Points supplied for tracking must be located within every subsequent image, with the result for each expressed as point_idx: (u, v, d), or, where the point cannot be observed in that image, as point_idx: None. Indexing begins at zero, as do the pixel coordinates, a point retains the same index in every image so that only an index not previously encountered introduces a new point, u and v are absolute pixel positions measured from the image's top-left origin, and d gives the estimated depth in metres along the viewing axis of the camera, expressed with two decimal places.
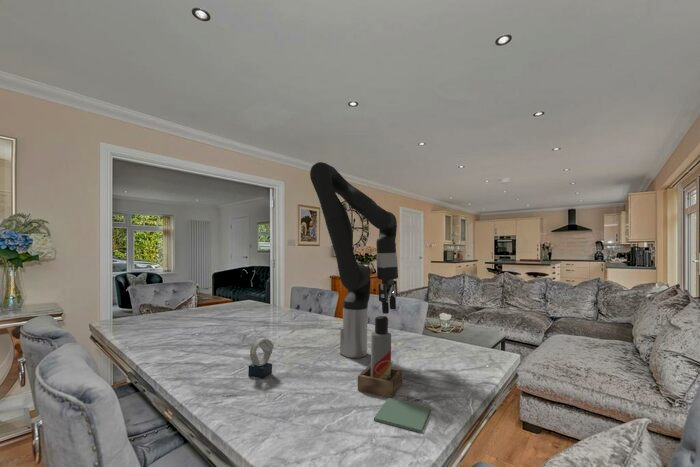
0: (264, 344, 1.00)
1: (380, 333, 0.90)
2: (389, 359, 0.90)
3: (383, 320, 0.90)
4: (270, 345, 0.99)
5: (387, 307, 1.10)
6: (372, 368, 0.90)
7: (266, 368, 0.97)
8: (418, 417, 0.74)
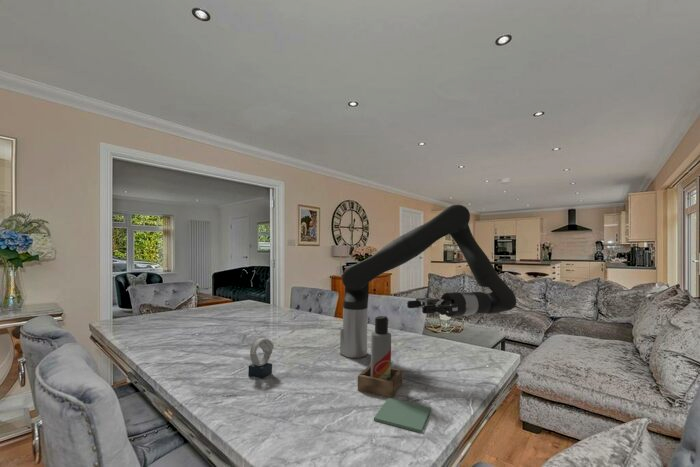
0: (264, 344, 1.00)
1: (380, 333, 0.90)
2: (389, 359, 0.90)
3: (383, 320, 0.90)
4: (270, 345, 0.99)
5: (429, 312, 0.92)
6: (372, 368, 0.90)
7: (266, 368, 0.97)
8: (418, 417, 0.74)
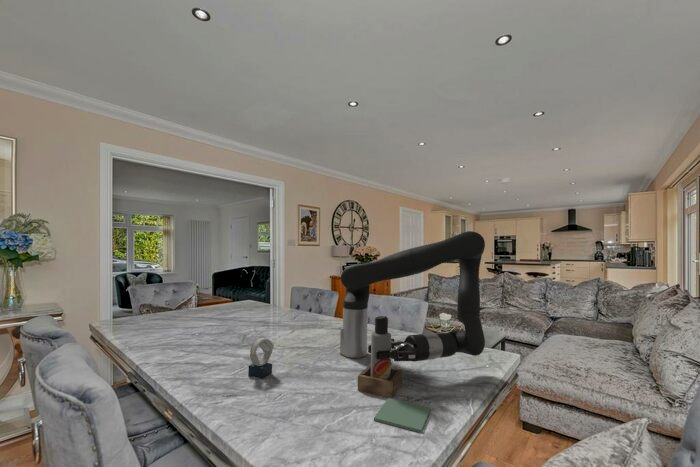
0: (264, 344, 1.00)
1: (380, 333, 0.90)
2: (389, 359, 0.90)
3: (383, 320, 0.90)
4: (270, 345, 0.99)
5: (383, 358, 0.89)
6: (372, 368, 0.90)
7: (266, 368, 0.97)
8: (418, 417, 0.74)
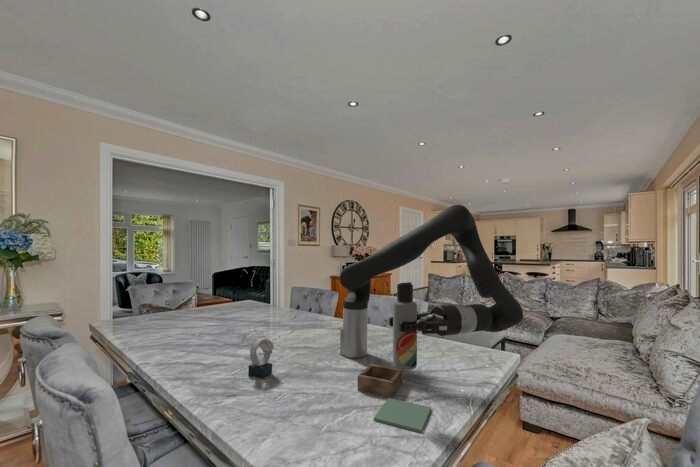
0: (264, 344, 1.00)
1: (404, 301, 0.75)
2: (415, 332, 0.75)
3: (407, 286, 0.76)
4: (270, 345, 0.99)
5: (408, 330, 0.74)
6: (395, 343, 0.76)
7: (266, 368, 0.97)
8: (418, 417, 0.74)
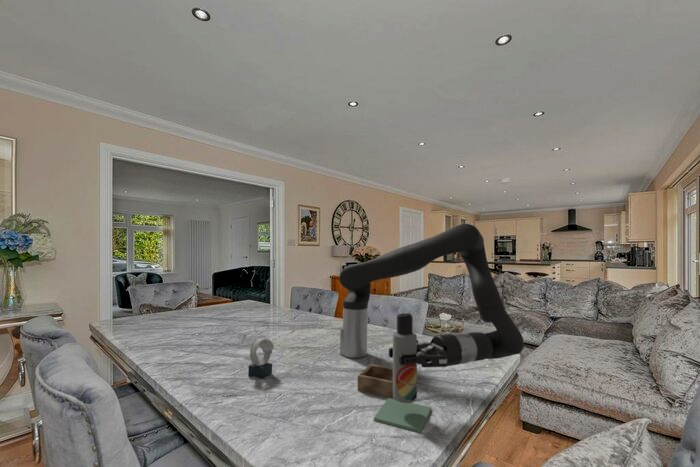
0: (264, 344, 1.00)
1: (404, 334, 0.75)
2: (415, 365, 0.75)
3: (407, 318, 0.75)
4: (270, 345, 0.99)
5: (408, 363, 0.74)
6: (395, 376, 0.75)
7: (266, 368, 0.97)
8: (418, 417, 0.74)
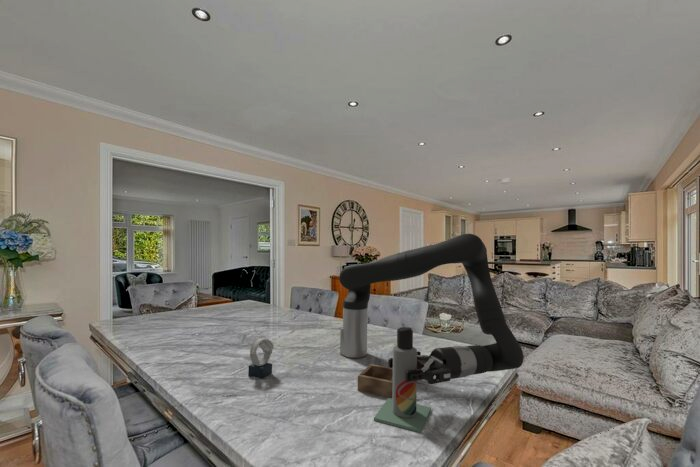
0: (264, 344, 1.00)
1: (404, 348, 0.75)
2: None
3: (407, 332, 0.75)
4: (270, 345, 0.99)
5: (415, 379, 0.72)
6: (394, 390, 0.75)
7: (266, 368, 0.97)
8: (418, 417, 0.74)
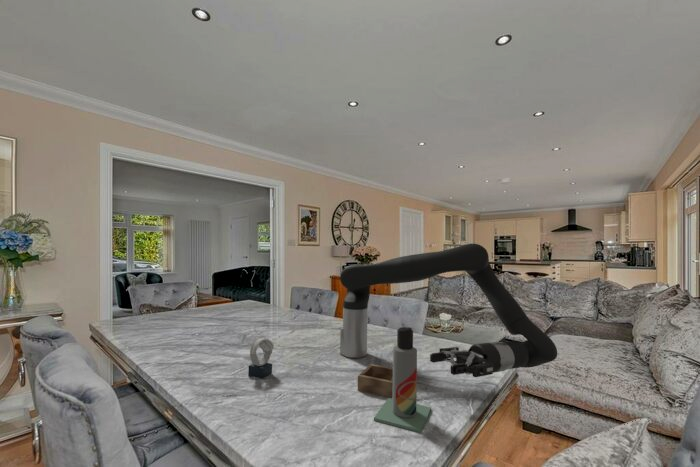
0: (264, 344, 1.00)
1: (404, 348, 0.75)
2: (415, 379, 0.75)
3: (408, 332, 0.75)
4: (270, 345, 0.99)
5: None
6: (394, 390, 0.75)
7: (266, 368, 0.97)
8: (418, 417, 0.74)
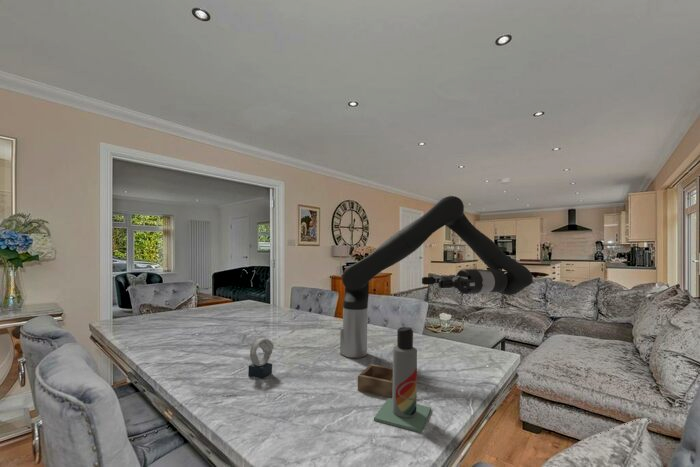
0: (264, 344, 1.00)
1: (404, 348, 0.75)
2: (415, 379, 0.75)
3: (408, 332, 0.75)
4: (270, 345, 0.99)
5: (446, 287, 0.90)
6: (394, 390, 0.75)
7: (266, 368, 0.97)
8: (418, 417, 0.74)
